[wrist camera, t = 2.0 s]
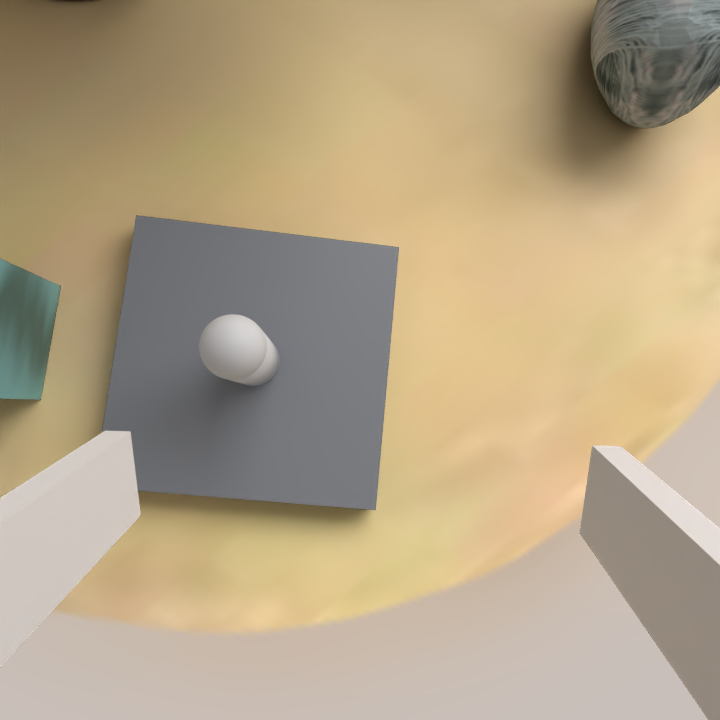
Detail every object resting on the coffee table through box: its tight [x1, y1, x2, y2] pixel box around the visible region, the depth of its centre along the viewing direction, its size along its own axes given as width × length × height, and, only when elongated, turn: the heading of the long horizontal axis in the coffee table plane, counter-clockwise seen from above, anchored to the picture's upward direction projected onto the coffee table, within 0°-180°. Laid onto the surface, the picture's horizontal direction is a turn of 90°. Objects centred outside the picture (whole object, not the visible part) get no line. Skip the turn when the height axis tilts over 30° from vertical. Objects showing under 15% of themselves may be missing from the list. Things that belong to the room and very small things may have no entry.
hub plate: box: [102, 215, 399, 510], centre depth 23 cm, size 16×16×9 cm
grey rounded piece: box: [591, 0, 720, 128], centre depth 29 cm, size 14×10×10 cm
